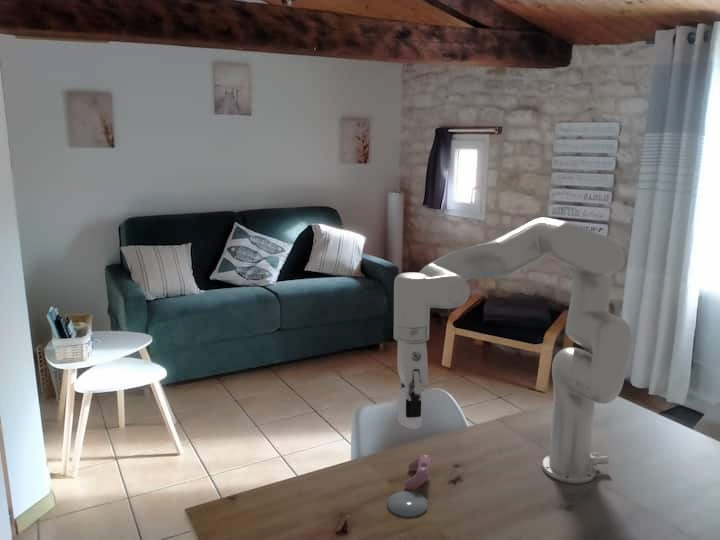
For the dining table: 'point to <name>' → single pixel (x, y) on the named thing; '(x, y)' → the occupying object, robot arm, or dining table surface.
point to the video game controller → (419, 472)
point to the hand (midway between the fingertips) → (410, 409)
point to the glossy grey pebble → (407, 504)
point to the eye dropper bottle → (407, 422)
